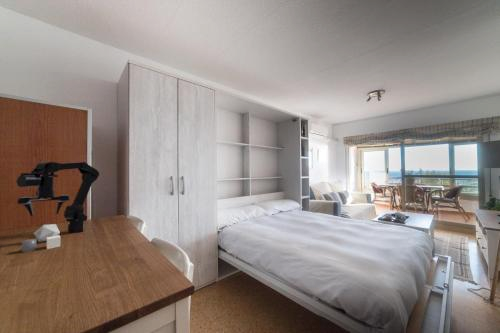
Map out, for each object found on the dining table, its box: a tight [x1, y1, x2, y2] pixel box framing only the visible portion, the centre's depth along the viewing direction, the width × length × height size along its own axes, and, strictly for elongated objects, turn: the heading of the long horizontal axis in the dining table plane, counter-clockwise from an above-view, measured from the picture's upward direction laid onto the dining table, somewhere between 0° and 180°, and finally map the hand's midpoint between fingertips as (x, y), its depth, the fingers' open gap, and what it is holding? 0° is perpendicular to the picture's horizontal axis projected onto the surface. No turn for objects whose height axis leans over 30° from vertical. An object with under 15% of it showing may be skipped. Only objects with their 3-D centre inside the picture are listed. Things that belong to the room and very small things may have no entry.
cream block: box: [46, 234, 62, 250], centre depth 96 cm, size 4×4×4 cm
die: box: [33, 223, 61, 243], centre depth 105 cm, size 8×9×10 cm
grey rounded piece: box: [21, 238, 38, 253], centre depth 91 cm, size 4×4×4 cm
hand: (45, 215), depth 105 cm, fingers open, 9 cm apart
